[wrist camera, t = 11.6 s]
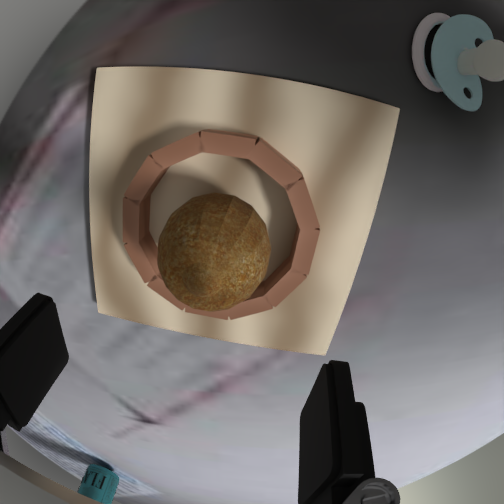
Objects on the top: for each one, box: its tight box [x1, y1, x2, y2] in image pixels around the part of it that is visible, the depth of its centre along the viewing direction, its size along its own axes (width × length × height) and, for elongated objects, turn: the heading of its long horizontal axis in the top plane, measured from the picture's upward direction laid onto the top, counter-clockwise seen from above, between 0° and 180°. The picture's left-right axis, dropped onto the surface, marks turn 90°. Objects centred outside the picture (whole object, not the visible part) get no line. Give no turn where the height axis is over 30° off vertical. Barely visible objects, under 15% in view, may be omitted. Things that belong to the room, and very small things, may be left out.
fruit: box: [157, 192, 271, 312], centre depth 18 cm, size 6×6×8 cm
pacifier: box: [412, 13, 504, 111], centre depth 13 cm, size 7×6×6 cm
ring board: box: [89, 67, 400, 355], centre depth 21 cm, size 20×20×3 cm
